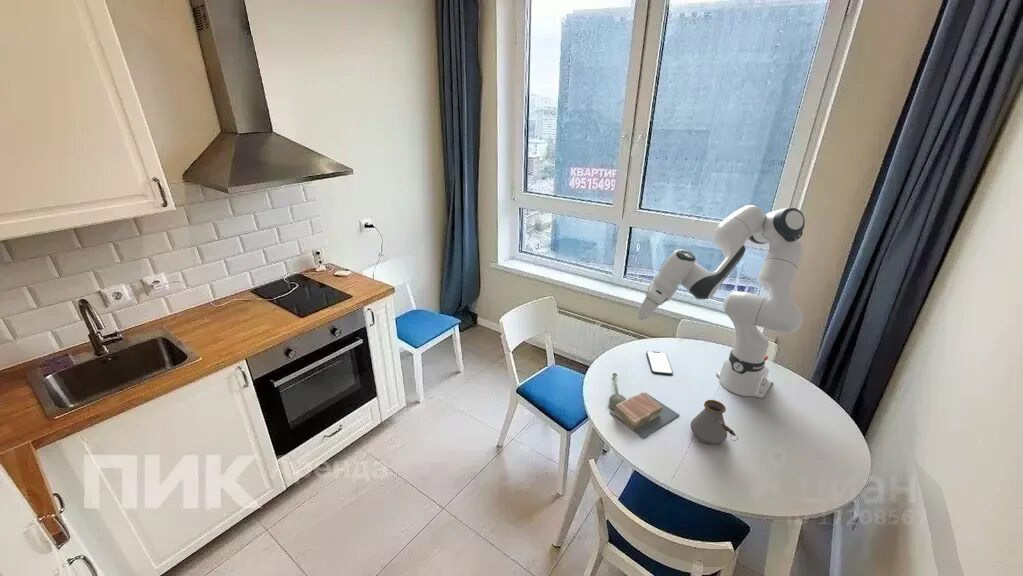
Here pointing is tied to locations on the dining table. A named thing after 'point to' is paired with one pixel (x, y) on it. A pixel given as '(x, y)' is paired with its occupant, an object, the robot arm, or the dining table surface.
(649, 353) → the smartphone
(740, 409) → the dining table surface
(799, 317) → the robot arm
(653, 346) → the dining table surface
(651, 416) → the brown wooden block
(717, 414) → the coffee pot
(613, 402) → the soupspoon
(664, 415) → the charcoal rubber mat
